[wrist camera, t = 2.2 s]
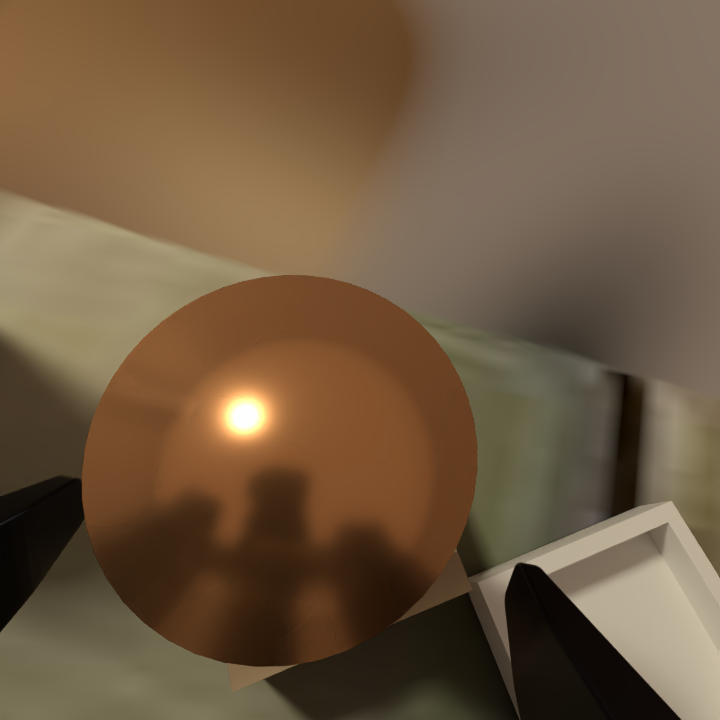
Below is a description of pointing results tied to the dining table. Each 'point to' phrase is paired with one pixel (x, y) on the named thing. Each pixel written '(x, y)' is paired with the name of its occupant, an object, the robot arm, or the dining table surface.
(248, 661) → the copper-capped peg
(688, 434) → the dining table surface
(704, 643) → the tray
